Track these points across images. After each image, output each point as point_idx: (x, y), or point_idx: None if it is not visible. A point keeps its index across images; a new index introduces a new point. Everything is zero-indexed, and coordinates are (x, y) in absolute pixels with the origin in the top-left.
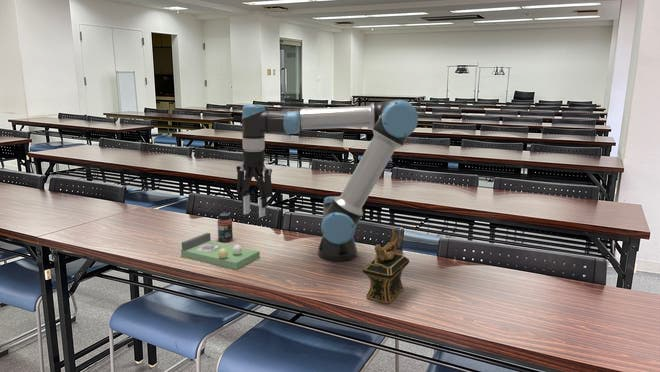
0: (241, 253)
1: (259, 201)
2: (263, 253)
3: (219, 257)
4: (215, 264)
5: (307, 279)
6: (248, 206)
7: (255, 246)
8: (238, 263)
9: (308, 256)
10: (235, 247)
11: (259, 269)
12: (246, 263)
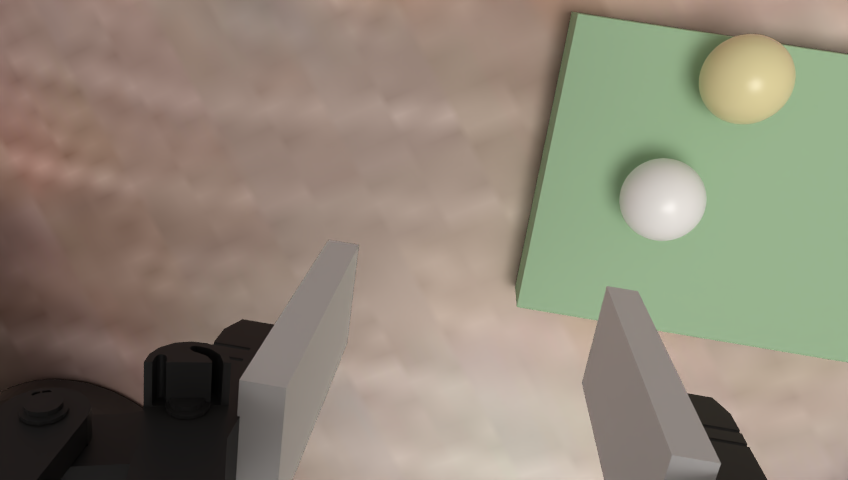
0: None
1: (287, 355)
2: (524, 361)
3: None
4: None
5: (34, 47)
6: (603, 412)
7: None
8: (569, 44)
9: None
10: (671, 179)
11: (412, 84)
12: (546, 138)
